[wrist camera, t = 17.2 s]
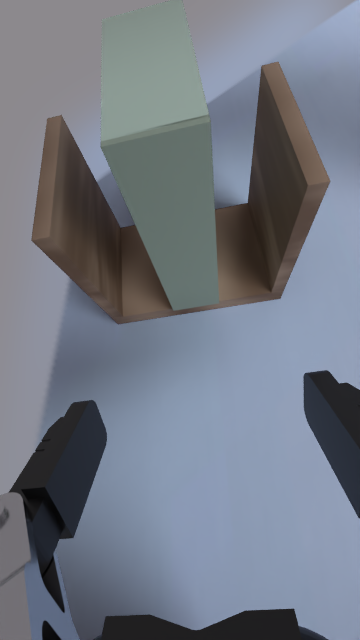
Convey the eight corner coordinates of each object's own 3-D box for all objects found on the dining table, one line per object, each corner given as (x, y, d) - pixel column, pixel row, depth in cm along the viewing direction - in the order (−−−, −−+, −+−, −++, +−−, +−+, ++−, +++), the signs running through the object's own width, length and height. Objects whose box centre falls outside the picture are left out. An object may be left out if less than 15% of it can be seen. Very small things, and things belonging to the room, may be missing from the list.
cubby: (256, 212, 28) (278, 61, 16) (280, 298, 24) (330, 180, 13) (116, 239, 29) (47, 118, 18) (118, 324, 26) (31, 240, 14)
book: (203, 216, 27) (181, -6, 13) (219, 303, 23) (210, 121, 9) (164, 224, 27) (102, 16, 14) (173, 310, 24) (100, 147, 10)
